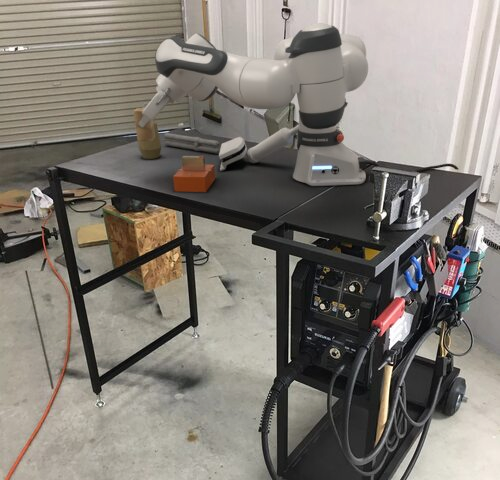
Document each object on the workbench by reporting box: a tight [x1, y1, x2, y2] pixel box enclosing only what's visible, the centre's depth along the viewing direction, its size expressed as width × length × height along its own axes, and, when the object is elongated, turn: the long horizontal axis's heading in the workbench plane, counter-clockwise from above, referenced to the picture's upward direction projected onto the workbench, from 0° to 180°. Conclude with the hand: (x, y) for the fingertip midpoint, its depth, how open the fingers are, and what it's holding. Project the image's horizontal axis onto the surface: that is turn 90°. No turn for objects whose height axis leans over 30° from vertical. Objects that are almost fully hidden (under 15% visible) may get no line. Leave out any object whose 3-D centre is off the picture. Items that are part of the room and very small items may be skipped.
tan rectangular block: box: [181, 154, 206, 171], centre depth 161 cm, size 6×2×4 cm, turn 80°
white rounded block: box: [218, 136, 248, 172], centre depth 180 cm, size 17×5×10 cm
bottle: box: [246, 124, 299, 164], centre depth 173 cm, size 5×5×25 cm
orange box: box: [172, 164, 216, 193], centre depth 163 cm, size 13×11×5 cm
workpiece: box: [133, 107, 155, 142], centre depth 160 cm, size 5×5×8 cm
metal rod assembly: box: [163, 132, 220, 155], centre depth 199 cm, size 26×3×5 cm, turn 54°
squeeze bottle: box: [138, 103, 162, 160], centre depth 188 cm, size 8×8×18 cm
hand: (142, 123), depth 160 cm, fingers closed on workpiece, 4 cm apart
